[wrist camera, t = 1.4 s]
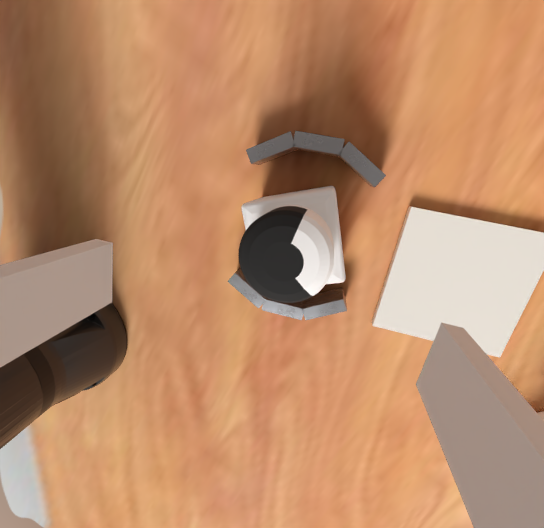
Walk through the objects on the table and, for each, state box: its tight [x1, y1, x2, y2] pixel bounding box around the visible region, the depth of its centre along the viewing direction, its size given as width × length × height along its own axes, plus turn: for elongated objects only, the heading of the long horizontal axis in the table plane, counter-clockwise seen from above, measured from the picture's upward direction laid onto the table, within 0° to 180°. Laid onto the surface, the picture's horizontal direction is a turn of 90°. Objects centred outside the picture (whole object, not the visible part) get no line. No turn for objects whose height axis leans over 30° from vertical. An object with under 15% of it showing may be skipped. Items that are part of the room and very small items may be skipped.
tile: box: [372, 206, 544, 357], centre depth 28 cm, size 12×12×1 cm
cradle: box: [228, 131, 386, 320], centre depth 28 cm, size 12×16×3 cm
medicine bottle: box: [239, 186, 346, 303], centre depth 24 cm, size 7×7×12 cm
